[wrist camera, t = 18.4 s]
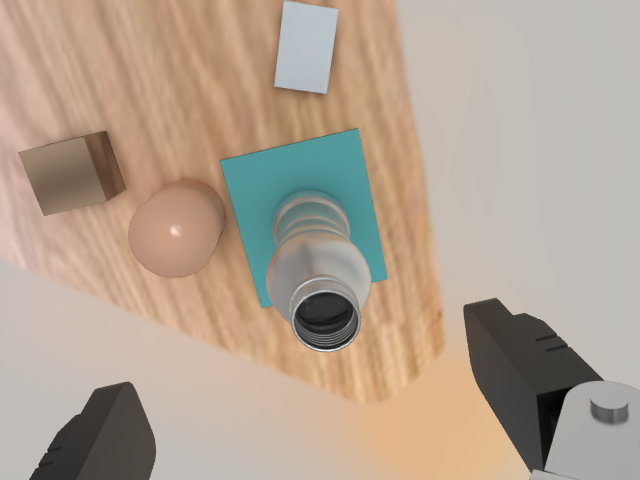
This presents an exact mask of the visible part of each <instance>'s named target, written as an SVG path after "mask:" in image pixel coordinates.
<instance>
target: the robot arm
mask: <svg viewBox="0 0 640 480" xmlns="http://www.w3.org/2000/svg"><path fill="white" fill-rule="evenodd" d="M463 311H464V320H465V327H466V335H467V342H468V349H469V356H470V362H471V367H472V371H473V374H474V377H475V380H476V383H477V385H478V387H479V388H480V390H481V392H482V394H483V395H484V397H485V399H486V400H487V402H488V404H489V405H490V407H491V408H492V410H493V412H494V413H495V415H496V417H497V418H498V420H499V422H500V423H501V425H502V426H503V428H504V430H505V431H506V433H507V435H508V436H509V438H510V440H511V441H512V443H513V445H514V446H515V448H516V449H517V451H518V453H519V454H520V456H521V458H522V459H523V461H524V462H525V464H526V466H527V467H528V469H529V471H530V472H531V476H530V479H529V480H640V391H639V390H637V389H636V388H633V387H631V386H628V385H625V384H622V383H617V382H611V381H604V380H603V379H602V378H601V377H600V376H599V375H598V374H597V373H596V372H595V371H594V370H593V369H592V368H591V367H590V366H589V365H588V364H587V363H586V362H585V361H584V360H583V359H582V358H581V357H580V356H579V355H578V354H577V353H576V352H575V351H574V350H573V349H572V348H570V347H568V345H567V343H565V341H563V340H562V339H561V338H560V337H558V336H557V334H556V333H555V332H554V331H553V330H552V329H551V328H550V327H549V326H548V325H547V324H546V323H545V322H544V321H542V320H539V319H537V318H535V317H533V316H530V315H528V314H526V313H523V314H518V315H512V314H511V313H510V312H509V311H508V310H507V308H506V307H505V306H504V305H503V304H502V303H501V302H500V301H499V300H498V299H497V298H493V299H489V300H484V301H479V302H475V303H471V304H466V305H465V306H464V310H463ZM47 451H48V452H47V453H45V454H44V456H43V458H42V460H41V461H40V463H39V468H36V469H35V471H34V473H33V474H32V476H31V477H30V479H29V480H149V478H150V475H151V472H152V469H153V465H154V462H155V456H156V446H155V438H154V435H153V432H152V429H151V427H150V424H149V422H148V419H147V417H146V414H145V412H144V409H143V407H142V404H141V402H140V399H139V397H138V395H137V392H136V390H135V388H134V386H133V385H132V384H131V383H130V382H123V383H119V384H115V385H111V386H106V387H102V388H97V389H95V390H94V392H93V393H92V395H91V397H90V398H89V400H88V402H87V404H86V405H85V407H84V409H83V411H82V412H81V414H78V415H76V416H75V417H73V418H72V419H71V420H70V421H69V422H68V423H67V424H66V425H65V426H64V427H63V428H62V429H61V430H60V431H59V432H58V433H57V435H56V436H55V438H54V440H53V441H52V443H51V444H50V446H49V448H48V450H47Z"/></svg>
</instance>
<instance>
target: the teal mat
mask: <svg viewBox="0 0 640 480" xmlns="http://www.w3.org/2000/svg"><path fill="white" fill-rule="evenodd" d="M220 163H221V167H222V171H223V174H224V178H225V181H226V185H227V188H228V192H229V195H230V199H231V202H232V206H233V209H234V213H235V216H236V220H237V223H238V227H239V230H240V234H241V238H242V241H243V245H244V248H245V252H246V255H247V259H248V262H249V266H250V269H251V273H252V276H253V280H254V283H255V287H256V290H257V294H258V298H259V301H260V305H261V308H264V307H268V306H273V303H272V301H271V300H270V298H269V295H268V291H267V286H266V275H267V269H268V266H269V263H270V260H271V258H272V255H273V254H274V252H275V250H276V249H277V247H276V245H275V242H274V239H273V235H272V227H271V224H272V218H273V215H274V213H275V210H276V209H277V207H278V206H279V204H280V203H281V202H282V201H283V200H284V199H286V198H287V197H288V196H290V195H291V194H293V193H296V192H298V191H303V190H316V191H320V192H323V193H325V194H328V195H330V196H331V197H333V198H334V199H336V200H337V201H338V202H339V203H340V204H341V205H342V207H343V208H344V210H345V211H346V213H347V216H348V218H349V223H350V239H349V240H350V241H351V242H352V243H353V244H354V245H355V246H356V247H357V248H358V249H359V251H360V252H361V254H362V255H363V257H364V258H365V260H366V262H367V264H368V267H369V270H370V275H371V283H372V282H377V281H381V280H385V279H387V274H386V269H385V263H384V258H383V253H382V248H381V243H380V238H379V233H378V228H377V223H376V218H375V213H374V208H373V203H372V198H371V193H370V187H369V182H368V177H367V172H366V167H365V162H364V157H363V152H362V147H361V142H360V137H359V132H358V129H353V130H349V131H344V132H340V133H336V134H332V135H327V136H323V137H319V138H314V139H310V140H306V141H302V142H297V143H293V144H289V145H285V146H280V147H276V148H272V149H267V150H263V151H259V152H255V153H250V154H246V155H242V156H237V157H233V158H229V159H225V160H220Z"/></svg>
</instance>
